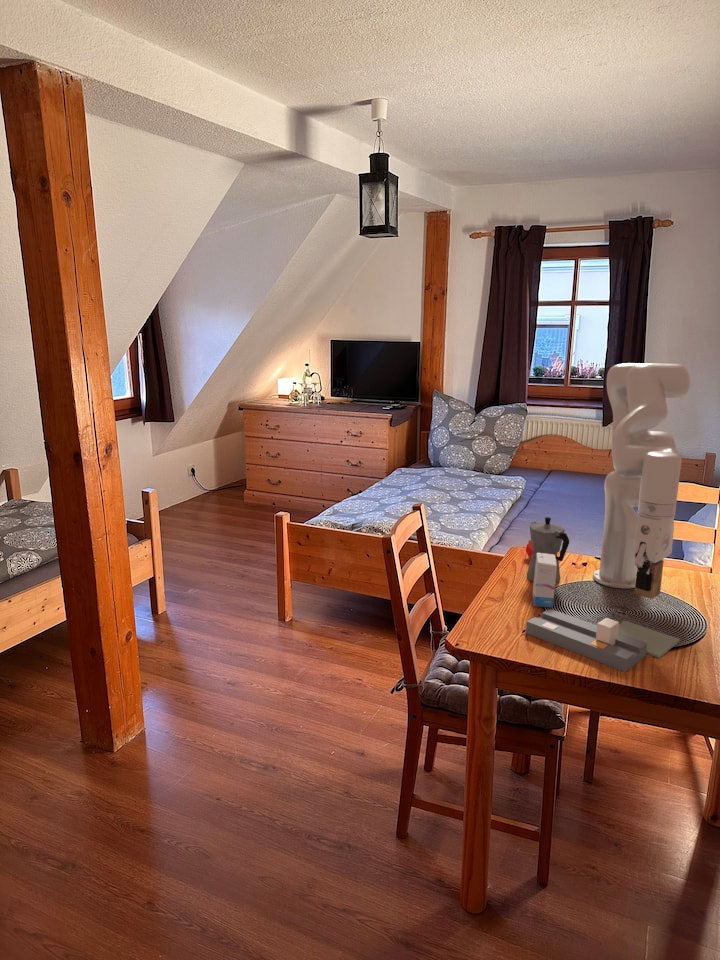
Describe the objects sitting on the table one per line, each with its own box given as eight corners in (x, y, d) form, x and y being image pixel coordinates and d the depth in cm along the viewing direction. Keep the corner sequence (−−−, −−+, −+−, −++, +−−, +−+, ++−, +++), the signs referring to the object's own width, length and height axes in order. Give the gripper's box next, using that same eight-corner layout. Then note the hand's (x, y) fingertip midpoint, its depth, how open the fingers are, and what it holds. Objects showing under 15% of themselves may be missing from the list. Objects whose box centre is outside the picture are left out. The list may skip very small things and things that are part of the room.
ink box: (554, 608, 171) (557, 564, 168) (533, 606, 172) (537, 563, 169) (551, 594, 179) (555, 553, 176) (532, 593, 180) (535, 551, 177)
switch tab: (603, 638, 151) (606, 617, 150) (616, 642, 149) (618, 622, 148) (595, 644, 148) (597, 623, 147) (608, 648, 146) (610, 627, 145)
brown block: (642, 589, 154) (647, 539, 152) (659, 594, 152) (665, 543, 149) (634, 593, 152) (639, 543, 149) (651, 599, 149) (657, 547, 146)
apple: (558, 545, 200) (538, 530, 205) (543, 554, 197) (523, 538, 202) (553, 562, 205) (533, 546, 210) (537, 570, 201) (518, 554, 206)
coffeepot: (515, 572, 194) (519, 512, 189) (541, 567, 198) (546, 509, 193) (550, 592, 180) (555, 528, 176) (577, 587, 184) (583, 524, 179)
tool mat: (624, 622, 163) (624, 620, 163) (679, 641, 154) (679, 639, 154) (602, 637, 156) (603, 635, 155) (659, 658, 146) (659, 655, 146)
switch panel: (548, 619, 164) (549, 608, 164) (645, 655, 148) (647, 642, 147) (525, 633, 158) (526, 621, 157) (625, 672, 141) (626, 658, 140)
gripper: (657, 519, 139) (648, 602, 143) (689, 504, 150) (679, 581, 154) (622, 511, 144) (614, 591, 148) (655, 498, 155) (646, 572, 159)
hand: (647, 585), depth 151 cm, fingers closed on brown block, 4 cm apart
